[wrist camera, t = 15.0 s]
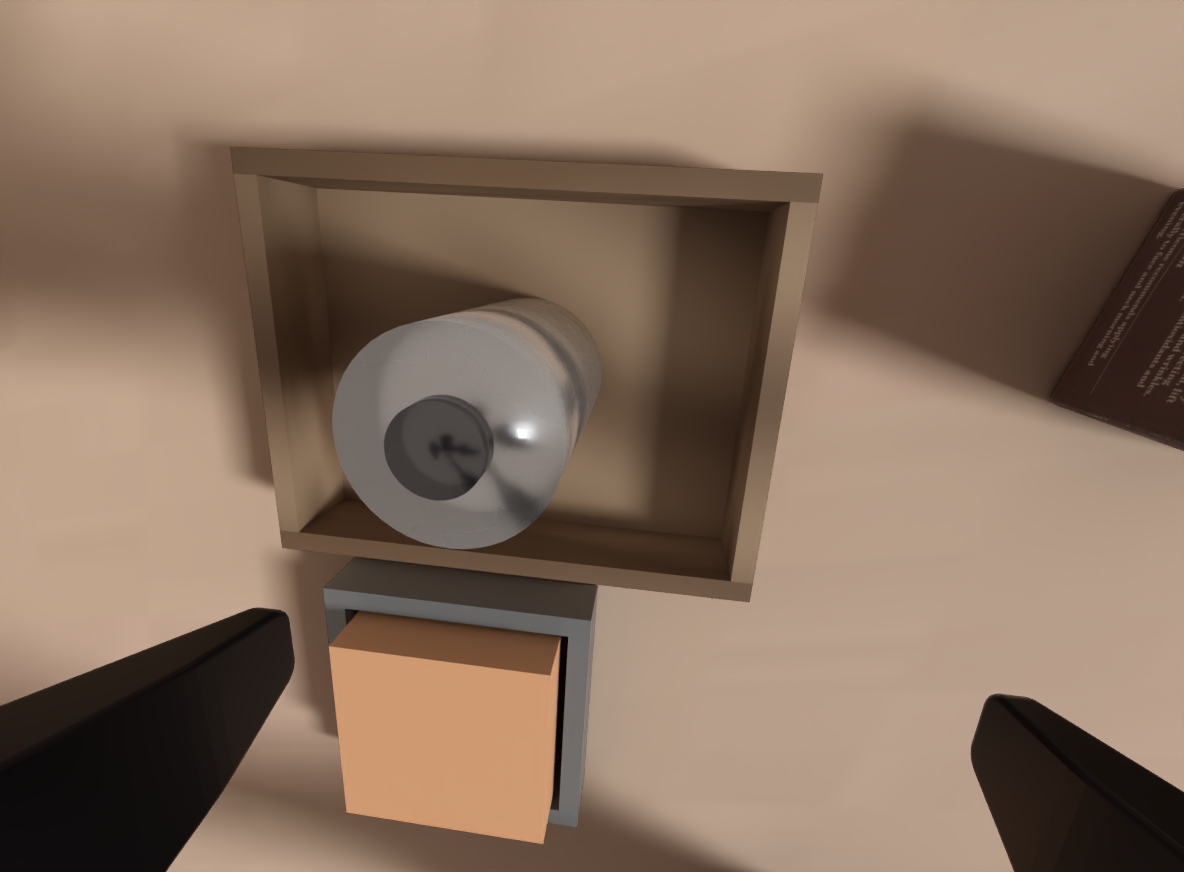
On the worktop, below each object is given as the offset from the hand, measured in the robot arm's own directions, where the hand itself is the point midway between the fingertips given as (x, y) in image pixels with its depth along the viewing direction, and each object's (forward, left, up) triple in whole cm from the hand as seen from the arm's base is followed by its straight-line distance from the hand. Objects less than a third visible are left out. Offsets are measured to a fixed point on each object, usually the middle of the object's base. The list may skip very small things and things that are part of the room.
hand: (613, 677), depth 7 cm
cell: (+2, +4, -10) cm, 11 cm away
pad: (-10, +6, -9) cm, 15 cm away
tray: (+2, +4, -11) cm, 12 cm away
